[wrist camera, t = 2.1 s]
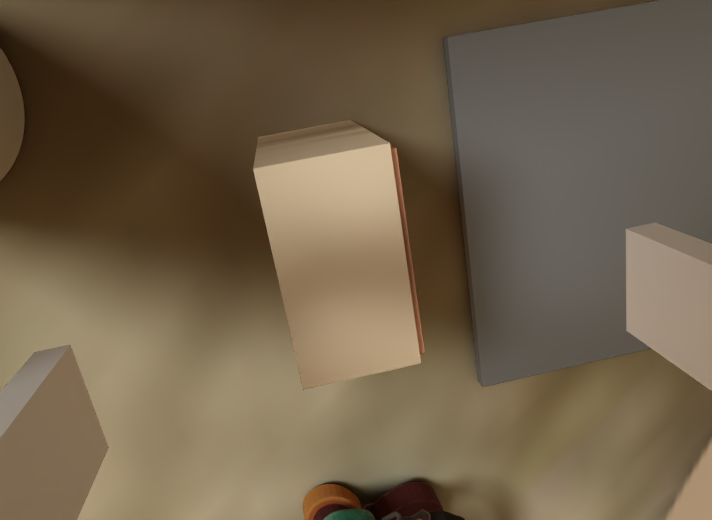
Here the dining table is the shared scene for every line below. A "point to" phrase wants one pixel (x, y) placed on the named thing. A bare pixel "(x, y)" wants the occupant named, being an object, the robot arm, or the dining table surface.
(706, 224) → the mat
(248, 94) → the dining table surface
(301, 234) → the wooden block
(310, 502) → the binoculars
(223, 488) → the dining table surface
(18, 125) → the travel mug
